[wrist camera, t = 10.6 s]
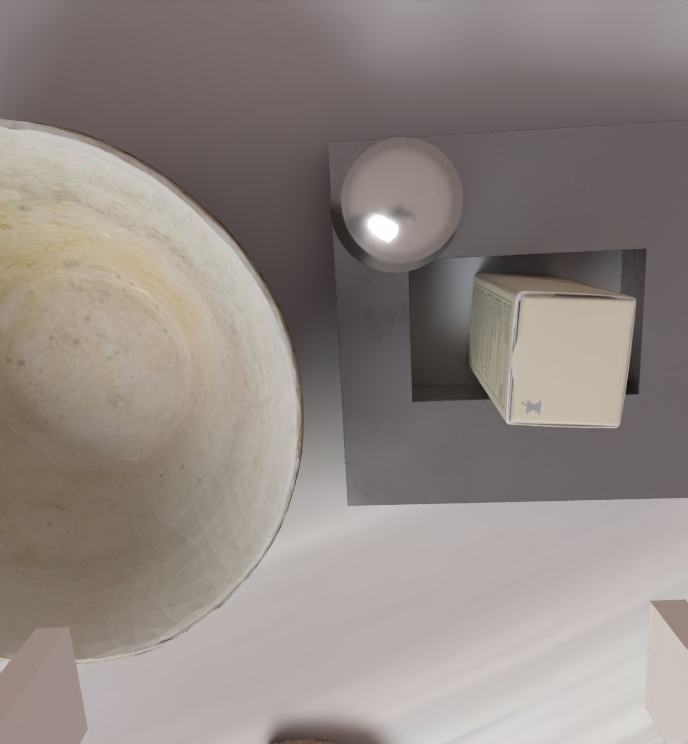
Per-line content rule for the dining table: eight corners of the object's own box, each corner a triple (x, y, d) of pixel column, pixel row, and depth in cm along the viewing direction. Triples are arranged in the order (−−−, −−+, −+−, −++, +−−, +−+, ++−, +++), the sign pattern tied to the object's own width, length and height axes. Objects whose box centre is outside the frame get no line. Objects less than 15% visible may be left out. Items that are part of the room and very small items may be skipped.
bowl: (412, 384, 35) (424, 447, 25) (123, 634, 40) (40, 768, 30) (95, 43, 32) (-29, -33, 22) (-178, 358, 37) (-379, 409, 27)
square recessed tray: (350, 482, 37) (347, 505, 34) (332, 149, 32) (327, 142, 30) (677, 474, 35) (704, 497, 32) (702, 126, 31) (735, 117, 28)
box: (546, 369, 34) (621, 438, 24) (465, 365, 35) (502, 432, 24) (557, 270, 33) (641, 295, 22) (473, 267, 33) (516, 290, 23)
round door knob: (339, 269, 34) (316, 296, 22) (332, 149, 32) (305, 110, 21) (454, 263, 33) (493, 288, 22) (453, 141, 32) (493, 98, 20)
